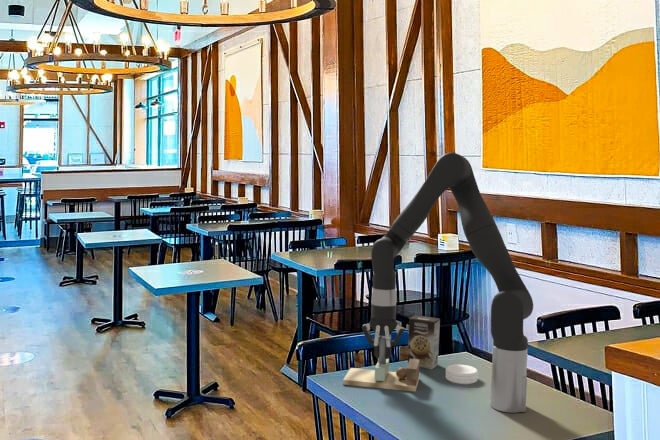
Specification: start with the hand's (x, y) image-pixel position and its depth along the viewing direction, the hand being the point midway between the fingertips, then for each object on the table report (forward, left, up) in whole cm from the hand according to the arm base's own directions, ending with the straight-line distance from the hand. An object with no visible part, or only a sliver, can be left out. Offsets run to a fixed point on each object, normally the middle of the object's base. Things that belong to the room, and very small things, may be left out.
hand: (382, 357), depth 192 cm
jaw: (0, 0, -6) cm, 6 cm away
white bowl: (-24, -10, -8) cm, 27 cm away
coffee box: (-11, -21, -8) cm, 25 cm away
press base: (0, 0, -8) cm, 8 cm away
